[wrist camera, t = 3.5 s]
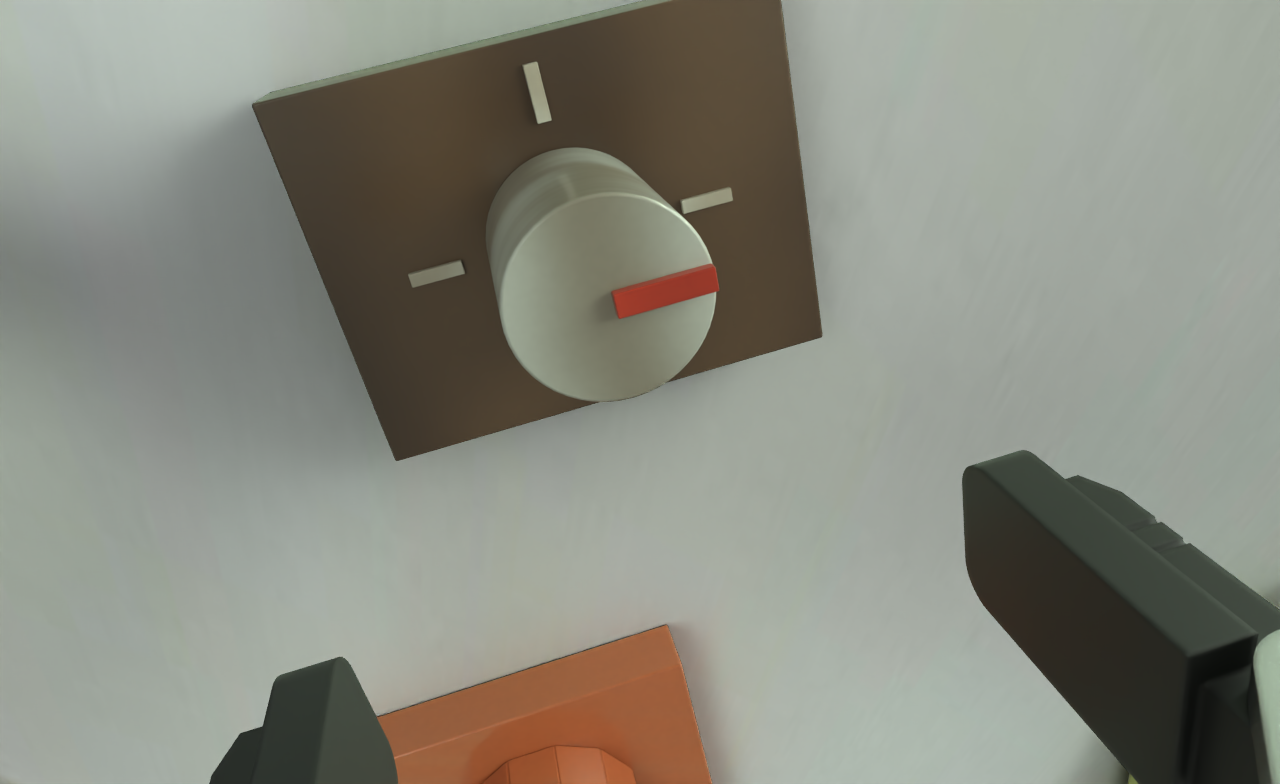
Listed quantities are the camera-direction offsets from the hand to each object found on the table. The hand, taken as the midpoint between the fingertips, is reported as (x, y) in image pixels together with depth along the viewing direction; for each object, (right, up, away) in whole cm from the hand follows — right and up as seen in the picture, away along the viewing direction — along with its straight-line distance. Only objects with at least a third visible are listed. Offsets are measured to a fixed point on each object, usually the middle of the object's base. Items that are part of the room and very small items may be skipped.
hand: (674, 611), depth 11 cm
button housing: (-4, -12, +23) cm, 26 cm away
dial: (-2, +7, +12) cm, 14 cm away
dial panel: (-3, +8, +14) cm, 16 cm away
